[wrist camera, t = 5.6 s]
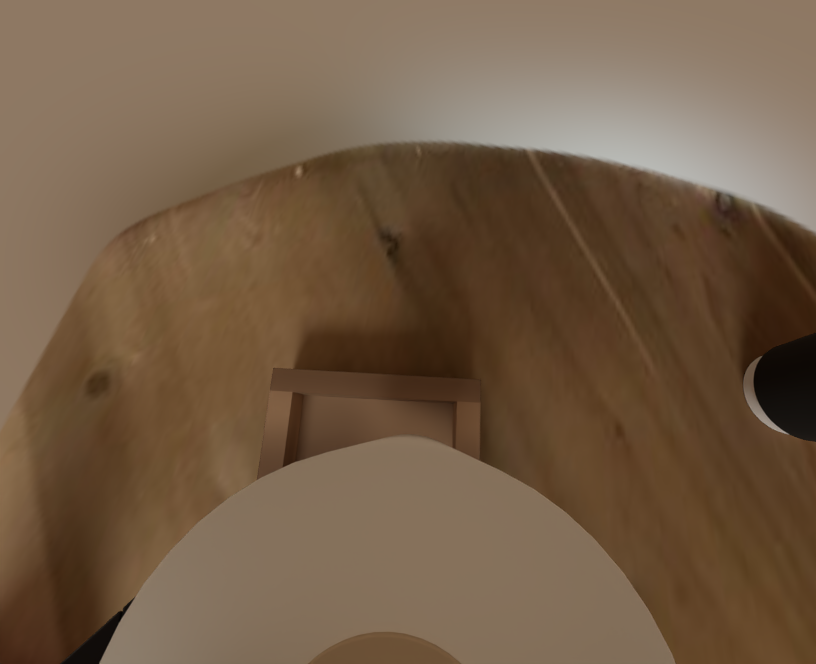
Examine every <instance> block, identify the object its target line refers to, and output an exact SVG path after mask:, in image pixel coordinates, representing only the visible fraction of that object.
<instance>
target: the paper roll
mask: <svg viewBox="0 0 816 664" xmlns="http://www.w3.org/2000/svg"><path fill="white" fill-rule="evenodd" d="M99 664H676V663H675V661H674V658H673V656H672V653H671V651H670V649H669V647H668V645H667V644H666V642H665V640H664V638H663V636H662V634H661V632H660V630H659V628H658V627H657V625H656V623H655V621H654V619H653V617H652V615H651V613H650V611H649V610H648V608H647V607H646V605H645V604H644V602H643V601H642V599H641V598H640V596H639V595H638V593H637V592H636V591H635V589H634V588H633V586H632V585H631V583H630V582H629V580H628V579H627V577H626V576H625V574H624V573H623V572H622V570H621V569H620V568H619V567H618V566H617V565H616V563H615V562H614V561H613V560H612V559H611V558H610V556H609V555H608V554H607V553H606V552H605V550H604V549H603V548H602V547H601V546H600V545H599V543H598V542H597V541H596V540H595V539H594V538H593V537H592V536H591V535H590V534H589V533H588V532H586V531H585V530H584V529H583V528H582V527H581V526H580V525H579V524H578V523H577V522H576V521H575V520H574V519H572V518H571V517H570V516H569V515H568V514H567V513H566V512H565V511H563V510H562V509H561V508H559V507H558V506H557V505H555V504H554V503H552V502H551V501H550V500H548V499H547V498H546V497H544V496H543V495H541V494H540V493H539V492H537V491H536V490H535V489H533V488H531V487H529V486H528V485H526V484H524V483H522V482H520V481H519V480H517V479H515V478H513V477H511V476H510V475H508V474H506V473H504V472H502V471H500V470H498V469H496V468H494V467H492V466H490V465H488V464H485V463H483V462H481V461H479V460H477V459H475V458H473V457H471V456H468V455H466V454H464V453H462V452H460V451H458V450H456V449H454V448H451V447H449V446H447V445H445V444H443V443H441V442H439V441H437V440H434V439H431V438H429V437H425V436H421V435H415V434H401V435H395V436H390V437H386V438H382V439H378V440H374V441H370V442H366V443H362V444H358V445H354V446H350V447H346V448H342V449H338V450H334V451H330V452H326V453H323V454H320V455H317V456H313V457H310V458H307V459H304V460H300V461H297V462H294V463H292V464H290V465H287V466H285V467H283V468H281V469H279V470H277V471H274V472H272V473H270V474H268V475H266V476H263V477H261V478H260V479H258V480H256V481H255V482H253V483H252V484H250V485H248V486H247V487H245V488H243V489H242V490H240V491H239V492H237V493H235V494H234V495H232V496H231V497H229V498H228V499H226V500H225V501H224V502H223V503H222V504H220V505H219V506H218V507H217V508H215V509H214V510H213V511H212V512H210V513H209V514H208V515H207V516H205V517H204V518H203V519H202V520H200V521H199V522H198V523H197V524H196V525H195V526H194V527H193V528H192V529H191V530H190V531H189V532H188V533H187V534H186V535H185V536H184V537H183V538H182V539H181V540H180V541H179V542H178V543H177V544H176V545H175V546H174V547H173V548H172V549H171V550H170V551H169V553H168V554H167V555H166V556H165V558H164V559H163V560H162V562H161V563H160V564H159V565H158V567H157V568H156V569H155V570H154V572H153V573H152V574H151V575H150V577H149V578H148V579H147V581H146V582H145V583H144V584H143V586H142V587H141V589H140V591H139V592H138V594H137V595H136V597H135V599H134V600H133V602H132V603H131V605H130V607H129V608H128V610H127V611H126V613H125V615H124V616H123V618H122V619H121V621H120V623H119V624H118V626H117V628H116V630H115V632H114V634H113V636H112V639H111V641H110V643H109V645H108V647H107V649H106V651H105V653H104V655H103V657H102V659H101V661H100V663H99Z"/></svg>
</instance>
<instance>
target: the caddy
mask: <svg viewBox="0 0 816 664" xmlns="http://www.w3.org/2000/svg"><path fill="white" fill-rule="evenodd" d="M480 401H481V380H479V379H462V378H444V377H426V376H408V375H390V374H373V373H355V372H337V371H319V370H301V369H283V368H273V374H272V380H271V387H270V394H269V401H268V407H267V414H266V421H265V428H264V435H263V441H262V448H261V455H260V462H259V469H258V475H257V480H258V479H260V478H261V477H263V476H266V475H268V474H270V473H272V472H273V471H277V470H279V469H281V468H283V467H285V466H287V465H290V464H292V463H294V462H297V461H300V460H304V459H307V458H310V457H313V456H317V455H320V454H323V453H326V452H330V451H334V450H338V449H342V448H346V447H350V446H354V445H358V444H362V443H366V442H370V441H374V440H378V439H382V438H386V437H390V436H395V435H401V434H415V435H421V436H425V437H429V438H431V439H434V440H437V441H439V442H441V443H443V444H445V445H447V446H449V447H451V448H454V449H456V450H458V451H460V452H462V453H464V454H466V455H468V456H471V457H473V458H475V459H477V460H479V461H480Z"/></svg>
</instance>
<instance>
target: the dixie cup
mask: <svg viewBox="0 0 816 664" xmlns="http://www.w3.org/2000/svg"><path fill="white" fill-rule="evenodd" d="M743 389H744V394H745V398H746V401H747V403H748V405H749V407H750V408H751V410H752V411H753V413H754V414H755V415H756V416H757V417H758V418H759V419H760V420H761V421H762V422H763V423H764V424H766V425H767V426H769V427H770V428H772V429H774V430H776V431H779V432H782V433H785V434H790V435H792V436H794V437H797V438H800V439H803V440H808V441H815V442H816V333H814V334H811V335H808V336H805V337H802V338H800V339H797V340H794V341H791V342H788V343H785V344H783V345H780V346H777V347H775V348H773V349H771V350H769V351H768V352H766V353H765V354H764V355H763V356H760V357H759V358H757V359H755V360H754V361H753V362H752V363H751V364H750V365H749V367H748V368H747V370H746V372H745V375H744V380H743Z"/></svg>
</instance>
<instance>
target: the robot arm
mask: <svg viewBox="0 0 816 664" xmlns="http://www.w3.org/2000/svg"><path fill="white" fill-rule="evenodd" d="M273 472H274V471H273ZM134 599H135V597H134V598H133V599H132V600H131V601H130V602H129V603H128V604H127V605H126V606H125V607H124V608H123V612H122V611H119V612H118V613H117V614H116V615H114V616H113V617H112V618H111V619H110V620H109V621H108V622H107V623H106V624H105V625H104V626H102V627H101V628H100V629H99V630H98V631H97V632H96V633H95V634H94V635H92V636H91V637H90V638H89V639H88V640H87V641H86V642H84V643H83V644H82V645H81V646H80V647H79V648H78V649H77V650H75V651H74V652H73V653H72V654H71V655H70V656H69V657H67V658H66V659H65V660H64V661H63V662H62V663H60V664H99V663H100V661H101V659H102V657H103V655H104V653H105V651H106V649H107V647H108V645H109V643H110V641H111V639H112V636H113V634H114V632H115V630H116V628H117V626H118V624H119V623H120V621H121V619H122V618H123V616H124V615H125V613H126V611H127V610H128V608H129V607H130V605H131V603H132V602H133V600H134Z"/></svg>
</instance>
